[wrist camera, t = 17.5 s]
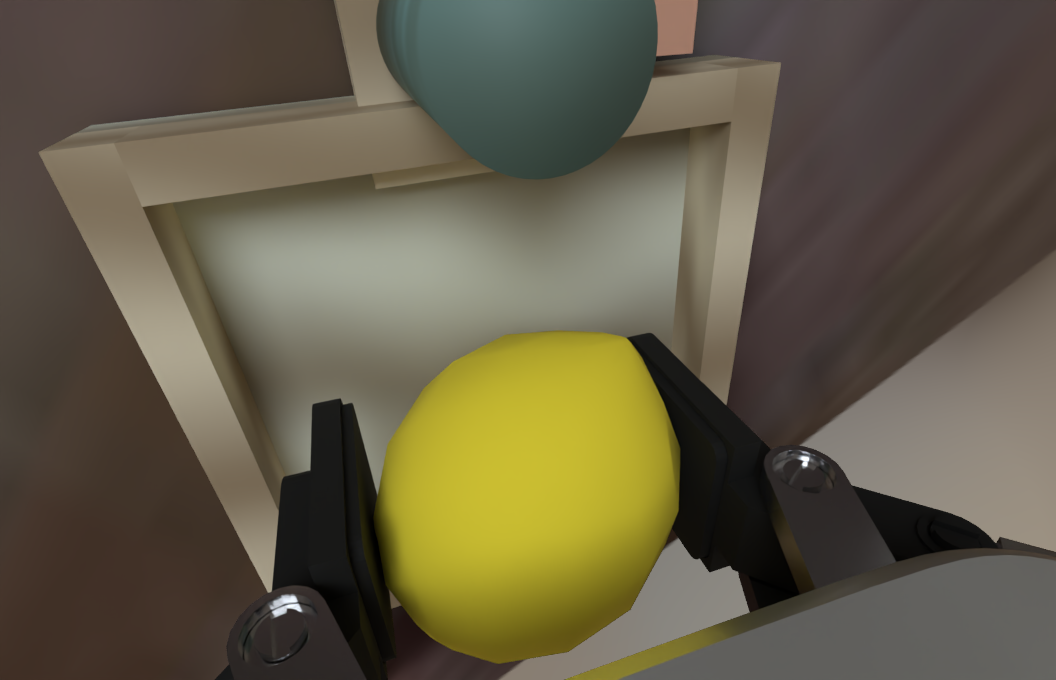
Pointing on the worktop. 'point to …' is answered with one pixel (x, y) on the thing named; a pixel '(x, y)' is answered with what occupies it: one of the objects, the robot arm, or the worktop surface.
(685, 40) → the pink rectangular block
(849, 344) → the worktop surface
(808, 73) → the worktop surface
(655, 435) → the lemon
